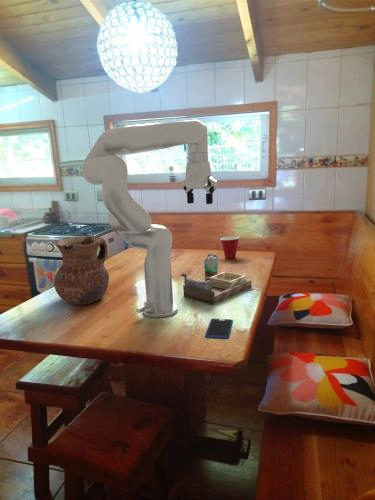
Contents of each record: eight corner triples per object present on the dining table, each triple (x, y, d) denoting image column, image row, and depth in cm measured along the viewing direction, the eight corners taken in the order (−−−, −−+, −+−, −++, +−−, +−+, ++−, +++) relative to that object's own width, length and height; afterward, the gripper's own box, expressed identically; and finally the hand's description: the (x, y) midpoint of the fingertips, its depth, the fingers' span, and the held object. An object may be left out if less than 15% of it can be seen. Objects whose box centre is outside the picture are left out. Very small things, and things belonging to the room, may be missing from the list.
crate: (230, 290, 145) (230, 282, 144) (209, 285, 152) (209, 277, 151) (246, 283, 153) (246, 275, 152) (225, 279, 160) (225, 271, 159)
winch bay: (211, 305, 133) (210, 281, 131) (180, 297, 144) (179, 274, 142) (251, 287, 152) (251, 265, 150) (221, 280, 163) (221, 260, 161)
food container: (218, 281, 162) (217, 259, 160) (204, 281, 164) (203, 259, 161) (221, 273, 174) (220, 253, 172) (208, 273, 175) (207, 253, 173)
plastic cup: (229, 254, 212) (228, 234, 209) (243, 257, 204) (243, 236, 201) (216, 258, 205) (215, 237, 202) (230, 261, 197) (230, 239, 194)
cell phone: (233, 321, 120) (233, 319, 120) (228, 340, 106) (228, 338, 106) (211, 320, 121) (211, 318, 121) (204, 338, 108) (204, 336, 108)
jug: (89, 311, 133) (82, 245, 128) (44, 306, 140) (36, 244, 135) (120, 292, 153) (115, 234, 148) (79, 288, 160) (73, 233, 155)
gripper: (175, 159, 139) (177, 203, 142) (209, 156, 127) (210, 205, 131) (188, 159, 144) (190, 202, 148) (222, 156, 133) (223, 203, 136)
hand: (199, 203), depth 139 cm, fingers open, 9 cm apart
